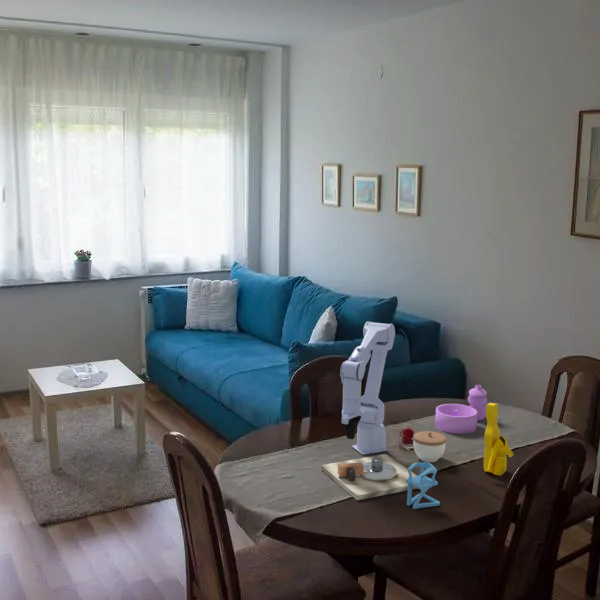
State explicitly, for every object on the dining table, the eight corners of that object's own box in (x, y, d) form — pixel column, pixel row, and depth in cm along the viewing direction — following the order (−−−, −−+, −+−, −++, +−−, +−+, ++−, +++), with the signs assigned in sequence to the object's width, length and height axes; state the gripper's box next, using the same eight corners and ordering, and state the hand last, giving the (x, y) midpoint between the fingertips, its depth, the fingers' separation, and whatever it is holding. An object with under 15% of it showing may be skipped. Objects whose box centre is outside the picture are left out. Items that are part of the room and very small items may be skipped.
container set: (461, 437, 269) (462, 402, 266) (426, 426, 280) (428, 392, 277) (498, 421, 286) (501, 388, 283) (465, 411, 296) (467, 379, 294)
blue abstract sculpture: (400, 502, 217) (402, 463, 214) (421, 495, 221) (423, 457, 219) (419, 512, 210) (421, 472, 208) (440, 505, 215) (442, 465, 213)
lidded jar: (448, 455, 251) (449, 429, 249) (440, 467, 241) (441, 440, 240) (417, 450, 255) (418, 424, 254) (408, 461, 246) (409, 434, 244)
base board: (385, 458, 249) (386, 445, 248) (426, 486, 227) (426, 472, 226) (321, 469, 239) (321, 456, 238) (357, 500, 217) (357, 485, 216)
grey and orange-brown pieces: (387, 463, 239) (388, 451, 239) (402, 479, 228) (402, 466, 227) (332, 469, 235) (333, 456, 234) (344, 485, 223) (345, 471, 222)
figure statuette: (493, 483, 230) (498, 415, 226) (470, 476, 235) (474, 409, 231) (518, 465, 243) (522, 401, 239) (495, 459, 248) (499, 396, 244)
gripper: (357, 406, 230) (356, 447, 232) (369, 392, 243) (368, 432, 246) (335, 403, 232) (334, 444, 235) (349, 390, 245) (348, 429, 248)
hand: (350, 438), depth 240 cm, fingers closed
